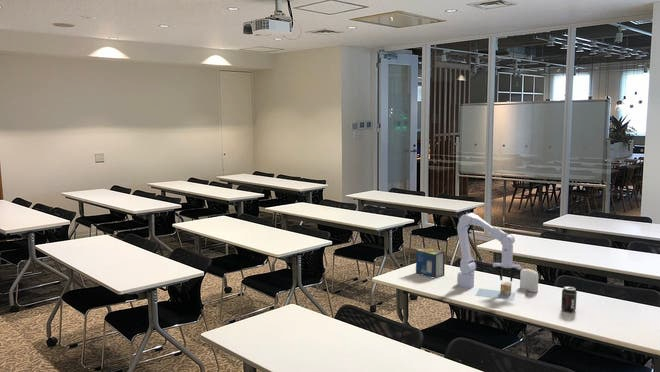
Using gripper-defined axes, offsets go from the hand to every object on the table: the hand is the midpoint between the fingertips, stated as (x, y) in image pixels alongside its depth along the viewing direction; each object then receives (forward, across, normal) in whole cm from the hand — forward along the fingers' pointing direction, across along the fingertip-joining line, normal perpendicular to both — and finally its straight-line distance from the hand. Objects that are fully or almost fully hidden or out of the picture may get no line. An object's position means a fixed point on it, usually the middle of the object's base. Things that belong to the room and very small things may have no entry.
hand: (506, 280), depth 291 cm
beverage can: (+9, +32, -11) cm, 35 cm away
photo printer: (+9, +11, +16) cm, 21 cm away
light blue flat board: (+9, -5, -3) cm, 11 cm away
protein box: (+9, -49, +25) cm, 56 cm away
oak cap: (+8, 0, 0) cm, 8 cm away
